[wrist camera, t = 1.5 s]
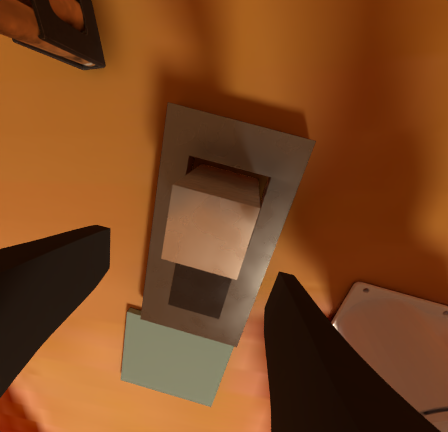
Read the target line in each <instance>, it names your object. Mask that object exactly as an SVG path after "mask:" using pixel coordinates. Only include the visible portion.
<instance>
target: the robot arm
mask: <svg viewBox="0 0 448 432" xmlns="http://www.w3.org/2000/svg"><path fill="white" fill-rule="evenodd" d="M109 268H110V228H107V227H103V226H99V225H93V226H88V227H83V228H79V229H76V230H72V231H68V232H65V233H61V234H57V235H54V236H50V237H46V238H43V239H39V240H35V241H31V242H27V243H23V244H19V245H15V246H11V247H7V248H2V249H0V398H1V396H2V395H3V394H4V392H5V391H6V390H7V388H8V387H9V386H10V384H11V383H12V382H13V380H14V379H15V378H16V377H17V375H18V374H19V373H20V372H21V370H22V369H23V368H24V367H25V365H26V364H27V363H28V362H29V360H30V359H31V358H32V357H33V355H34V354H35V353H36V352H37V350H38V349H39V348H40V347H41V346H42V344H43V343H44V342H45V341H46V340H47V339H48V338H49V337H50V335H51V334H52V333H53V332H54V331H55V330H56V329H57V328H58V327H59V326H60V325H61V324H62V323H63V322H64V321H65V320H66V319H67V318H68V317H69V315H70V314H71V313H72V312H73V311H74V310H75V309H76V308H77V307H78V306H79V305H80V304H81V303H82V302H83V301H84V300H85V299H86V297H87V296H88V295H89V294H90V293H91V292H92V291H93V290H94V289H95V288H96V286H97V285H98V284H99V282H100V281H101V280H102V278H103V277H104V275H105V274H106V272H107V271H108V270H109ZM365 288H367V289H366V290H363V289H365ZM264 338H265V349H266V359H267V369H268V379H269V389H270V402H271V432H448V306H446V305H442V304H439V303H435V302H431V301H428V300H424V299H421V298H417V297H414V296H410V295H406V294H403V293H399V292H396V291H392V290H388V289H385V288H381V287H378V286H374V285H370V284H367V283H363V282H356V283H354V285H353V286H352V288H351V289H350V291H349V293H348V295H347V296H346V298H345V300H344V301H343V303H342V305H341V306H340V308H339V310H338V311H337V313H336V315H335V317H334V318H333V320H332V322H330V321H329V320H328V318H327V317H326V316H325V315H324V313H323V312H322V311H321V310H320V308H319V307H318V306H317V305H316V303H315V302H314V301H313V299H312V298H311V297H310V295H309V294H308V293H307V291H306V290H305V289H304V288H303V286H302V285H301V284H300V282H299V281H298V280H297V279H296V277H295V276H294V275H291V274H287V273H283V272H279V273H278V276H277V278H276V281H275V283H274V286H273V288H272V291H271V293H270V296H269V298H268V301H267V303H266V306H265V312H264Z"/></svg>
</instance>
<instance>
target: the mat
mask: <svg viewBox="0 0 448 432" xmlns="http://www.w3.org/2000/svg"><path fill="white" fill-rule="evenodd" d="M140 318H141V311H140V310H136V309H133V308H129V310H128V311H127V317H126V328H125V339H124V350H123V361H122V372H121V380H123V381H126V382H129V383H133V384H136V385H139V386H143V387H146V388H149V389H153V390H156V391H159V392H163V393H166V394H169V395H173V396H176V397H179V398H183V399H186V400H189V401H193V402H196V403H199V404H203V405H206V406H209V407H211V406H212V403H213V400H214V398H215V395H216V392H217V390H218V387H219V384H220V382H221V379H222V377H223V374H224V371H225V369H226V366H227V363H228V361H229V358H230V355H231V353H232V350H233V347H234V346H231V345H228V344H224V343H221V342H217V341H214V340H211V339H207V338H204V337H200V336H197V335H193V334H190V333H186V332H183V331H180V330H176V329H173V328H169V327H166V326H162V325H159V324H155V323H152V322H149V321H145V320H142V319H140Z"/></svg>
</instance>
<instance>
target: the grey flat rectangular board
mask: <svg viewBox="0 0 448 432" xmlns="http://www.w3.org/2000/svg"><path fill="white" fill-rule="evenodd" d="M315 142H316V141H314V140H310V139H306V138H302V137H299V136H295V135H291V134H287V133H283V132H280V131H276V130H272V129H268V128H264V127H261V126H257V125H253V124H249V123H245V122H242V121H238V120H234V119H230V118H226V117H222V116H219V115H215V114H211V113H207V112H203V111H200V110H196V109H192V108H188V107H184V106H181V105H177V104H173V103H169V102H168V105H167V113H166V121H165V129H164V137H163V145H162V152H161V160H160V168H159V176H158V184H157V192H156V200H155V208H154V216H153V224H152V231H151V239H150V247H149V255H148V263H147V271H146V279H145V287H144V295H143V303H142V311H141V318H140V319H142V320H145V321H149V322H152V323H155V324H159V325H162V326H166V327H169V328H173V329H176V330H180V331H183V332H186V333H190V334H193V335H197V336H200V337H204V338H207V339H211V340H214V341H217V342H221V343H224V344H228V345H231V346H235V347H237V345H238V342H239V340H240V337H241V335H242V332H243V329H244V327H245V324H246V322H247V319H248V316H249V314H250V311H251V309H252V306H253V303H254V301H255V298H256V296H257V293H258V290H259V288H260V285H261V283H262V280H263V277H264V275H265V272H266V270H267V267H268V264H269V262H270V259H271V257H272V254H273V251H274V249H275V246H276V244H277V241H278V238H279V236H280V233H281V231H282V228H283V225H284V223H285V220H286V218H287V215H288V212H289V210H290V207H291V205H292V202H293V199H294V197H295V194H296V192H297V189H298V186H299V184H300V181H301V179H302V176H303V173H304V171H305V168H306V166H307V163H308V160H309V158H310V155H311V153H312V150H313V147H314V145H315ZM194 157H197V158H201V159H204V160H208V161H212V162H216V163H219V164H223V165H227V166H230V167H234V168H238V169H242V170H245V171H249V172H253V173H256V174H260V175H264V176H268V179H267V183H266V186H265V189H264V192H263V195H262V198H261V201H260V211H259V214H258V217H257V220H256V223H255V226H254V229H253V232H252V235H251V238H250V241H249V244H248V248H247V251H246V254H245V257H244V260H243V263H242V266H241V269H240V272H239V275H238V278H237V280H235V279H231V278H228V277H224V276H221V275H217V274H214V273H210V272H207V271H203V270H200V269H196V268H192V267H189V266H185V265H182V264H178V263H175V262H171V261H168V260H164V259H161V257H162V250H163V244H164V237H165V231H166V224H167V218H168V211H169V205H170V198H171V192H172V185H173V184H174V183H176V182H177V181H178V180H180V179H181V178H183V177H184V176H186V175H187V174H188V173H190V172H191V171H192V168H193V162H194Z"/></svg>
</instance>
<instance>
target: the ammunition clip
mask: <svg viewBox="0 0 448 432" xmlns="http://www.w3.org/2000/svg"><path fill="white" fill-rule="evenodd" d="M0 34H2V35H5V36H8V37H10V38H12V40H13V42H15V43H17V44H20V45H22V46H25V47H27V48H30V49H32V50H35V51H37V52H40V53H42V54H45V55H47V56H49V57H52V58H54V59H57V60H59V61H62V62H64V63H67V64H69V65H72V66H74V67H77V68H79V69H82V70H89V69H97V68H104V67H105V66H106V65H105V60H104V55H103V51H102V46H101V42H100V37H99V33H98V28H97V24H96V19H95V15H94V10H93V5H92V1H91V0H0Z"/></svg>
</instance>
